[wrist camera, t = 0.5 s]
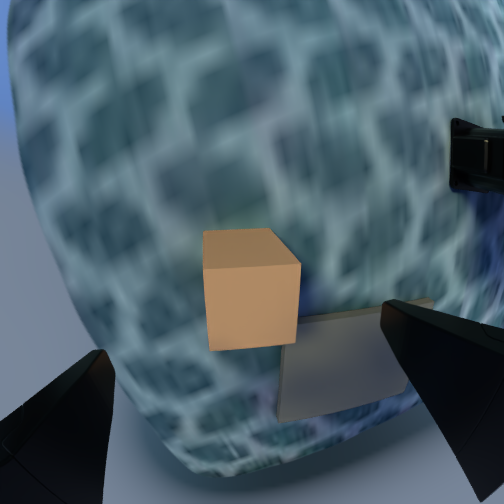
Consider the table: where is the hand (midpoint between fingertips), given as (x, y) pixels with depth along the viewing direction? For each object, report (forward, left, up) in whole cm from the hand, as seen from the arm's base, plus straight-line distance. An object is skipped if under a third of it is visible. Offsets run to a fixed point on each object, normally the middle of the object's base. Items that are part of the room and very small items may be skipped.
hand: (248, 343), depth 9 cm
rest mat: (-12, +13, -12) cm, 21 cm away
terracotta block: (-1, +2, -12) cm, 12 cm away
